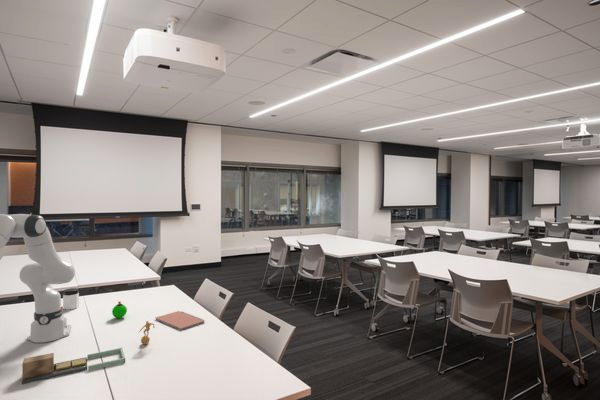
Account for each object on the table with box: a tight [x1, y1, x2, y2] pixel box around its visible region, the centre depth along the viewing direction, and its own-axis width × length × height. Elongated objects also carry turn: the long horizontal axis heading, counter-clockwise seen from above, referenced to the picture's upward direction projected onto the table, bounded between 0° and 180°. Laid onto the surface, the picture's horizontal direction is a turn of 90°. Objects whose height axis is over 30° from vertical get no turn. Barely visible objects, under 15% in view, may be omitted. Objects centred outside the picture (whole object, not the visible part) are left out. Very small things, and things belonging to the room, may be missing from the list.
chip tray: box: [86, 347, 126, 371], centre depth 160 cm, size 14×13×3 cm
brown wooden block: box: [21, 352, 55, 379], centre depth 147 cm, size 10×5×7 cm, turn 122°
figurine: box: [138, 320, 155, 345], centre depth 180 cm, size 8×6×12 cm
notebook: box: [155, 310, 205, 331], centre depth 213 cm, size 27×17×2 cm, turn 51°
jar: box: [62, 287, 80, 311], centre depth 237 cm, size 9×8×12 cm
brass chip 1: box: [56, 360, 71, 371], centre depth 152 cm, size 5×5×2 cm
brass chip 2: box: [72, 357, 86, 368], centre depth 155 cm, size 5×5×2 cm
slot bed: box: [21, 356, 88, 385], centre depth 150 cm, size 22×11×2 cm, turn 122°
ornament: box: [111, 300, 128, 319], centre depth 218 cm, size 8×8×10 cm
